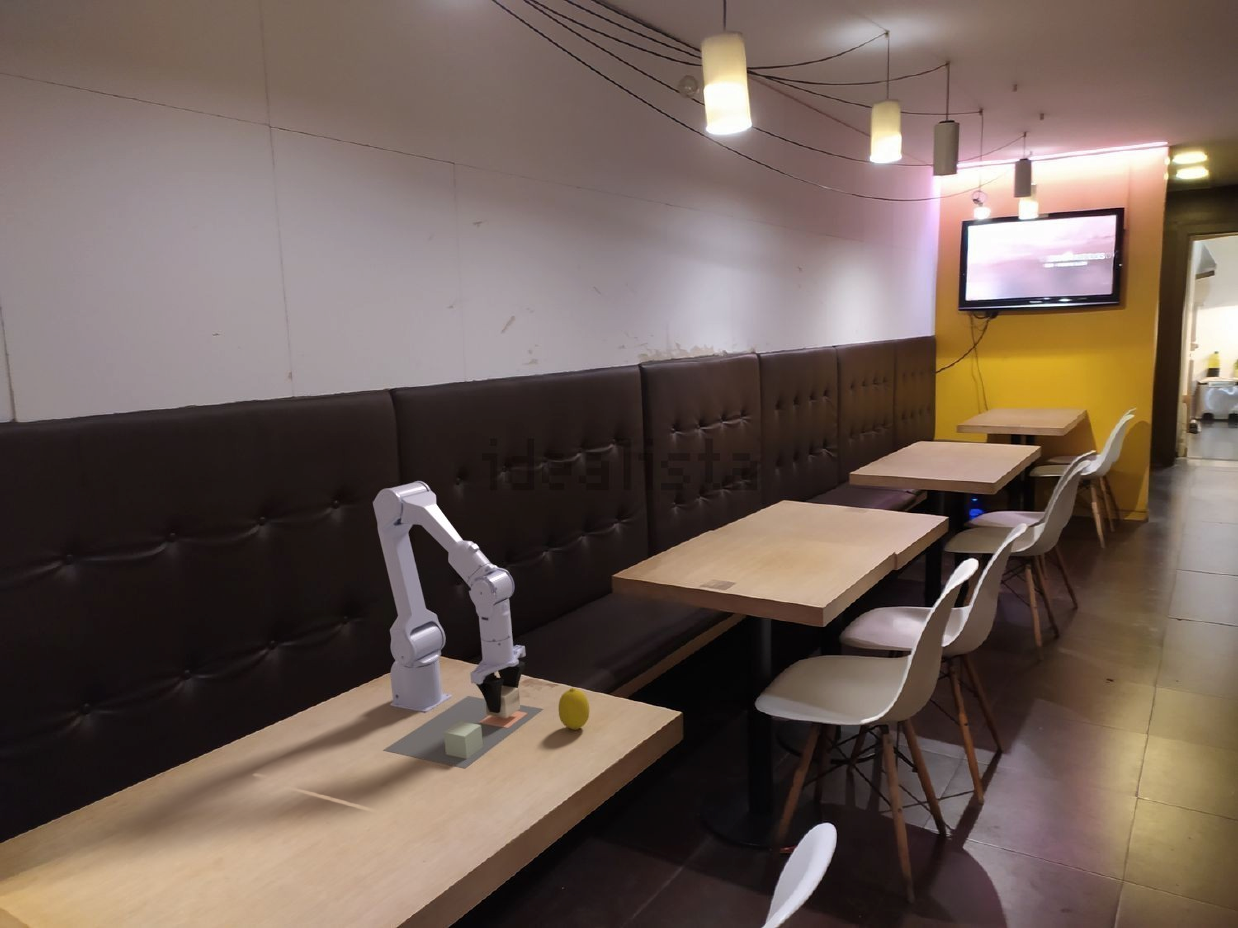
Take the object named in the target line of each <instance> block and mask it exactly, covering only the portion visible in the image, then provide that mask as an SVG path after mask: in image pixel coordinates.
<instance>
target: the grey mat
mask: <svg viewBox="0 0 1238 928" xmlns="http://www.w3.org/2000/svg"><path fill="white" fill-rule="evenodd" d="M543 710H544V708H542V707H540V708H539V707H536V706H535V707H534V706H529V705H523V704H520V709H519V710H518V711H516V712H515V713H513V714H512V715H511V716H509V717H508V718H501V717H496V716H490V715H487V713H486V702H485V699H484V697H483V698H481V697H476V696H471V695H467V696H465V698H462V699H461V700H459V701H458V702H456V703H455V704H453V705H451V706H450V707H449V708H447V709H445V710H444V711H442V712H440V713H439V714H437V715H436V716H434V717H432V718H431V719H429V720H427V722H425V723H424V724H422V725H420V726H418V727H417V728H416V729H415V728H414V730H412V731H411V732H409V733H407V734H406V735H404V736H403V737H402V738H400V739H398V740H397V741H395V742H393V744H391V745H389V746H387V747H386V748H385V749H383V752H384V751H385V752H389V753H394V754H399V755H403V756H407V757H412V758H416V759H421V760H425V761H429V762H433V763H438V764H443V765H447V766H451V767H457V768H461V769H467V768H468V767H469V766H470V765H472V764H473V763H475V762H476V761H477V760H479V759H480V758H481V757H482V756H484V755H485V754H486V753H488V752H489V751H490V750H492V749H493V748H494V747H495V746H497V745H498V744H500V743H501V742H502V741H504V740H505V739H506V738H507V737H509V736H510V735H512V734H513V733H514V732H515V731H517V730H518V729H520V728H521V727H522V726H523V725H525V724H526V723H528V722H529V721H530V720H531V719H533V718H534V717H536V716H537V715H538V714H539V713H540V712H542V711H543ZM460 721H462V722H467V723H472V724H478V725H481V730H482V741H483V747H482V748H481V749H480V750H478V751H477V752H475V753H474V754H473V755H471V756H470V757H469V758H467V759H465V758H461V757H456V756H452V755H447V754H446V749H445V739H444V732H445V731H447V730H448V729H450V728H451V727H453V726H454V725H455V724H457V723H458V722H460Z"/></svg>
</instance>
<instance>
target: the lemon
mask: <svg viewBox="0 0 1238 928" xmlns="http://www.w3.org/2000/svg"><path fill="white" fill-rule="evenodd" d="M559 698H560V699H559V702H558V716H559V719H560V721H561V723H562V725H564V726H565V727H567V728H568V729H572V730H573V731H577V730H579V729H580V728H582V727H583V726H584V725H586V723H588V719H589V717H590V703H589V700H588V697H587V695H586V694H585V693H584V692H583V691H582V690H580V689H577V688H574V687H571V688H570V689H568V690H566V691H565V692H564V693H562V695H561V697H559Z"/></svg>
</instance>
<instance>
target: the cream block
mask: <svg viewBox="0 0 1238 928" xmlns="http://www.w3.org/2000/svg"><path fill="white" fill-rule="evenodd" d="M485 702H486V701H485ZM520 705H521V699H520V688H519V687H518V688H515V687H508V686H502V689H501V709H500V712H499V713H493V712H489V709H488V706H487V704H486V713H487V715H490V716H496V717H501V718H508V717H509V716H511V715H512V714H513V713H515V712H516V711H518V710H519V709H520Z"/></svg>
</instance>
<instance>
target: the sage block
mask: <svg viewBox="0 0 1238 928" xmlns="http://www.w3.org/2000/svg"><path fill="white" fill-rule="evenodd" d="M444 739H445V749H446V754H447V755H452V756H456V757H461V758H465V759H467V758H469V757H470V756H471V755H473V754H474V753H475V752H477V751H478V750H480V749H481V748H482V747H483V741H482V730H481V725H478V724H472V723H467V722H462V721H460V722H458V723H457V724H455V725H454V726H453V727H451V728H450V729H448V730H447V731H445V732H444Z"/></svg>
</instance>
